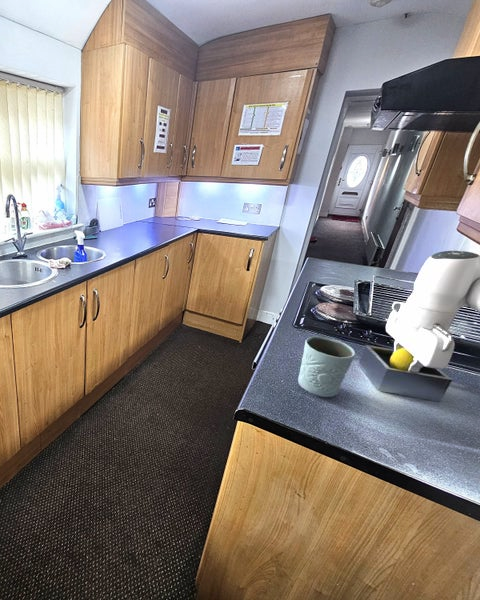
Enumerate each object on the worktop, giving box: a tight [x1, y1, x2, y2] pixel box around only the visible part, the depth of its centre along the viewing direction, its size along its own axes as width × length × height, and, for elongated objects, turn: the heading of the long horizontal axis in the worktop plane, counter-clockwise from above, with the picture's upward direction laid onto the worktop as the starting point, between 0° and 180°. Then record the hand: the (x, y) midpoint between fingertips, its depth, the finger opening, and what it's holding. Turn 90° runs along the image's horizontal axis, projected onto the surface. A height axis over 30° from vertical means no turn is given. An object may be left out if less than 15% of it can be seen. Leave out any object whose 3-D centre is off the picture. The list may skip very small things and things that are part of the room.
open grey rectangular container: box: [357, 344, 453, 403], centre depth 86 cm, size 13×13×7 cm
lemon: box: [390, 348, 414, 371], centre depth 85 cm, size 6×6×8 cm
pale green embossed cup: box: [297, 336, 356, 398], centre depth 83 cm, size 10×10×12 cm
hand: (404, 364), depth 85 cm, fingers closed on lemon, 5 cm apart
